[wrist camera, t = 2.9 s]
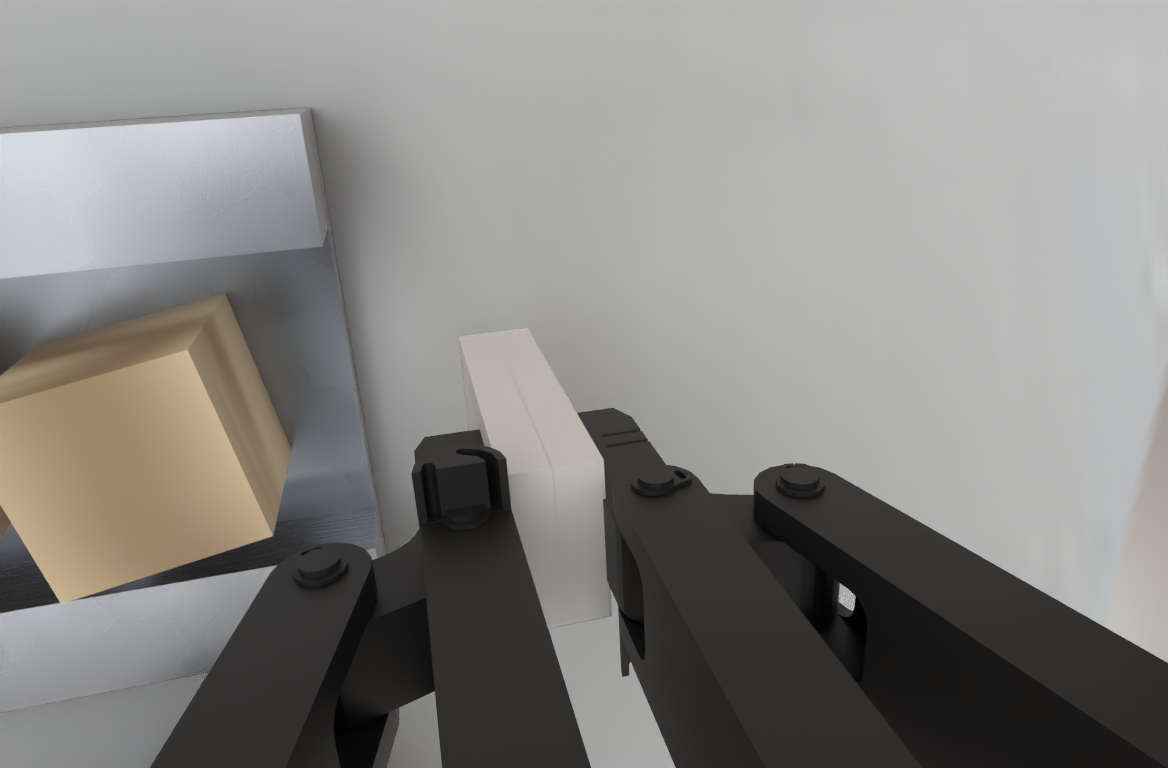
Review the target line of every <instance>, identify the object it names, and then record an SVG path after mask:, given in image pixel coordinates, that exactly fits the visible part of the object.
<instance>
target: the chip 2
mask: <svg viewBox="0 0 1168 768" xmlns="http://www.w3.org/2000/svg"><path fill="white" fill-rule="evenodd" d="M291 450H292V449H291V447H290V444H289V442H288V440H287V437H286V435H285V433H284V430H283V428H282V426H281V423H280V421H279V419H278V416H277V414H276V412H275V409H274V407H273V405H272V402H271V400H270V398H269V395H268V393H267V390H266V388H265V386H264V383H263V381H262V379H261V376H260V374H259V372H258V369H257V367H256V365H255V362H254V360H253V358H252V355H251V353H250V351H249V348H248V346H247V344H246V341H245V339H244V337H243V334H242V332H241V330H240V327H239V325H238V322H237V320H236V318H235V315H234V313H233V311H232V308H231V306H230V304H229V301H228V299H227V297H226V294H225V293H224V294H220V295H217V296H213V297H210V298H206V299H203V300H199V301H195V302H192V303H188V304H185V305H181V306H177V307H174V308H170V309H167V310H163V311H160V312H156V313H152V314H149V315H145V316H142V317H138V318H135V319H131V320H127V321H124V322H120V323H117V324H113V325H109V326H106V327H102V328H99V329H95V330H92V331H88V332H84V333H81V334H77V335H74V336H70V337H67V338H63V339H59V340H56V341H52V342H49V343H45V344H41V345H38V346H36V347H34V348H33V349H32V350H31V351H30V352H28V353H27V354H26V355H25V356H24V357H22V358H21V359H20V360H19V361H17V362H16V363H15V364H14V365H13V366H11V367H10V368H9V369H8V370H6V371H5V372H4V373H3V374H2V375H0V505H1V507H2V508H3V510H4V512H5V513H6V515H7V517H8V518H9V520H10V521H11V523H12V525H13V526H14V528H15V530H16V531H17V533H18V535H19V536H20V538H21V539H22V541H23V543H24V544H25V546H26V548H27V549H28V551H29V552H30V554H31V556H32V557H33V559H34V561H35V562H36V564H37V566H38V567H39V569H40V570H41V572H42V574H43V575H44V577H45V579H46V580H47V582H48V583H49V585H50V587H51V588H52V590H53V592H54V593H55V595H56V597H57V598H58V600H59V601H60V603H61V604H63V603H66V602H69V601H73V600H76V599H79V598H82V597H85V596H88V595H91V594H94V593H97V592H101V591H104V590H107V589H110V588H113V587H116V586H119V585H122V584H125V583H129V582H132V581H135V580H138V579H141V578H144V577H147V576H150V575H154V574H157V573H160V572H163V571H166V570H169V569H172V568H175V567H178V566H182V565H185V564H188V563H191V562H194V561H197V560H200V559H203V558H206V557H210V556H213V555H216V554H219V553H222V552H225V551H228V550H231V549H234V548H238V547H241V546H244V545H247V544H250V543H253V542H256V541H259V540H262V539H266V538H269V537H272V536H273V534H274V529H275V525H276V520H277V515H278V511H279V506H280V501H281V497H282V492H283V487H284V483H285V478H286V473H287V469H288V464H289V459H290V455H291Z"/></svg>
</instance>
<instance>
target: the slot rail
mask: <svg viewBox="0 0 1168 768" xmlns="http://www.w3.org/2000/svg"><path fill="white" fill-rule="evenodd" d="M224 293H225V294H226V297H227V299H228V301H229V304H230V306H231V308H232V311H233V313H234V315H235V318H236V320H237V322H238V325H239V327H240V330H241V332H242V334H243V337H244V339H245V341H246V344H247V346H248V348H249V351H250V353H251V355H252V358H253V360H254V362H255V365H256V367H257V369H258V372H259V374H260V376H261V379H262V381H263V383H264V386H265V388H266V390H267V393H268V395H269V398H270V400H271V402H272V405H273V407H274V409H275V412H276V414H277V416H278V419H279V421H280V423H281V426H282V428H283V430H284V433H285V435H286V437H287V440H288V442H289V444H290V447H291V449H292V450H291V455H290V459H289V464H288V469H287V473H286V478H285V483H284V487H283V492H282V497H281V501H280V506H279V511H278V515H277V520H276V525H275V529H274V534H273V536H272V537H269V538H266V539H262V540H259V541H256V542H253V543H250V544H247V545H244V546H241V547H238V548H234V549H231V550H228V551H225V552H222V553H219V554H216V555H213V556H210V557H206V558H203V559H200V560H197V561H194V562H191V563H188V564H185V565H182V566H178V567H175V568H172V569H169V570H166V571H163V572H160V573H157V574H154V575H150V576H147V577H144V578H141V579H138V580H135V581H132V582H129V583H125V584H122V585H119V586H116V587H113V588H110V589H107V590H104V591H101V592H97V593H94V594H91V595H88V596H85V597H82V598H79V599H76V600H73V601H69V602H66V603H63V604H61V603H60V601H59V600H58V598H57V597H56V595H55V593H54V592H53V590H52V588H51V587H50V585H49V583H48V582H47V580H46V579H45V577H44V575H43V574H42V572H41V570H40V569H39V567H38V566H37V564H36V562H35V561H34V559H33V557H32V556H31V554H30V552H29V551H28V549H27V548H26V546H25V544H24V543H23V541H22V539H21V538H20V536H19V535H18V533H17V531H16V530H15V528H14V526H13V525H12V523H11V525H10V526H9V527H8V528H7V530H6V531H5V532H4V533H3V535H2V536H1V537H0V713H2V712H8V711H13V710H18V709H23V708H28V707H33V706H38V705H43V704H49V703H54V702H59V701H64V700H69V699H74V698H79V697H84V696H90V695H95V694H100V693H105V692H110V691H115V690H120V689H125V688H131V687H136V686H141V685H146V684H151V683H156V682H161V681H167V680H172V679H177V678H182V677H187V676H192V675H197V674H202V673H208V672H210V670H211V668H212V667H213V665H214V663H215V662H216V660H217V659H218V657H219V655H220V654H221V652H222V650H223V649H224V647H225V646H226V644H227V642H228V641H229V639H230V637H231V636H232V634H233V633H234V631H235V629H236V628H237V626H238V625H239V623H240V621H241V620H242V618H243V616H244V615H245V613H246V612H247V610H248V608H249V607H250V605H251V603H252V602H253V600H254V599H255V597H256V595H257V594H258V592H259V591H260V589H261V587H262V586H263V584H264V582H265V581H266V579H267V578H268V576H269V574H270V573H271V572H272V571H273V569H274V568H275V567H276V566H277V565H278V564H279V563H280V562H281V561H282V560H284V559H286V558H287V557H289V556H291V555H293V554H294V553H296V552H298V551H300V550H302V549H305V548H307V547H308V548H309V547H310V546H314V545H318V544H328V543H335V542H336V543H350V544H354V545H357V546H359V547H362V548H364V549H366V551H367V552H368V553H369V555H370V556H371V557H372V560H374V559H377V558H379V557H382V556H385V555H386V549H385V543H384V537H383V531H382V525H381V520H380V514H379V508H378V502H377V496H376V490H375V484H374V478H373V472H372V467H371V461H370V455H369V449H368V443H367V437H366V431H365V425H364V419H363V413H362V408H361V402H360V396H359V390H358V384H357V378H356V372H355V366H354V360H353V355H352V349H351V343H350V337H349V331H348V325H347V319H346V313H345V307H344V302H343V296H342V290H341V284H340V278H339V272H338V266H337V260H336V254H335V249H334V243H333V237H332V231H331V225H330V219H329V213H328V207H327V201H326V195H325V190H324V184H323V178H322V172H321V166H320V160H319V154H318V148H317V142H316V137H315V131H314V125H313V119H312V113H311V107H307V108H292V109H277V110H261V111H246V112H231V113H216V114H201V115H186V116H171V117H156V118H140V119H125V120H110V121H95V122H80V123H65V124H50V125H35V126H20V127H4V128H0V375H2V374H3V373H4V372H5V371H6V370H8V369H9V368H10V367H11V366H13V365H14V364H15V363H16V362H17V361H19V360H20V359H21V358H22V357H24V356H25V355H26V354H27V353H28V352H30V351H31V350H32V349H33V348H34V347H36V346H38V345H41V344H45V343H49V342H52V341H56V340H59V339H63V338H67V337H70V336H74V335H77V334H81V333H84V332H88V331H92V330H95V329H99V328H102V327H106V326H109V325H113V324H117V323H120V322H124V321H127V320H131V319H135V318H138V317H142V316H145V315H149V314H152V313H156V312H160V311H163V310H167V309H170V308H174V307H177V306H181V305H185V304H188V303H192V302H195V301H199V300H203V299H206V298H210V297H213V296H217V295H220V294H224Z"/></svg>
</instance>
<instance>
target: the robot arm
mask: <svg viewBox="0 0 1168 768" xmlns="http://www.w3.org/2000/svg"><path fill="white" fill-rule="evenodd" d="M458 337H459V346H460V354H461V363H462V372H463V380H464V389H465V397H466V406H467V414H468V423H469V431H464V432H457V433H450V434H444V435H437V436H430V437H425V438H424V439H423V440H422V442H421V443H420V444H419V446H418V447H417V448H416V450H415V451H414V453H415V464H414V467H413V470H412V480H413V486H414V493H415V500H416V506H417V513H418V520H419V527H420V528H419V530H418V532H417V534H416V535H415V536H414V537H413V538H412V539H411V540H410V541H409V542H408V543H407V544H405V545H404V546H402V547H401V548H399V549H398V550H396V551H394V552H391V553H389V554H387V555H385V556H382V557H379V558H377V559H374V560H372V557H371V556H370V555H369V553H368V552H367V551H366V549H364V548H362V547H359V546H357V545H354V544H350V543H336V542H335V543H328V544H318V545H314V546H310V547H309V548H308V547H307V548H305V549H302V550H300V551H298V552H296V553H294V554H293V555H291V556H289V557H287V558H286V559H284V560H282V561H281V562H280V563H279V564H278V565H277V566H276V567H275V568H274V569H273V571H272V572H271V573H270V574H269V576H268V578H267V579H266V581H265V582H264V584H263V586H262V587H261V589H260V591H259V592H258V594H257V595H256V597H255V599H254V600H253V602H252V603H251V605H250V607H249V608H248V610H247V612H246V613H245V615H244V616H243V618H242V620H241V621H240V623H239V625H238V626H237V628H236V629H235V631H234V633H233V634H232V636H231V637H230V639H229V641H228V642H227V644H226V646H225V647H224V649H223V650H222V652H221V654H220V655H219V657H218V659H217V660H216V662H215V663H214V665H213V667H212V668H211V670H210V672H209V673H208V675H207V676H206V678H205V680H204V681H203V683H202V684H201V686H200V688H199V689H198V691H197V693H196V694H195V696H194V697H193V699H192V701H191V702H190V704H189V706H188V707H187V709H186V710H185V712H184V714H183V715H182V717H181V719H180V720H179V722H178V723H177V725H176V727H175V728H174V730H173V731H172V733H171V735H170V736H169V738H168V740H167V741H166V743H165V744H164V746H163V748H162V749H161V751H160V753H159V754H158V756H157V757H156V759H155V761H154V762H153V764H152V765H151V767H150V768H386V767H387V764H388V760H389V757H390V753H391V750H392V746H393V743H394V739H395V736H396V732H397V729H398V725H399V707H401V706H403V705H406V704H408V703H410V702H412V701H414V700H416V699H418V698H421V697H423V696H425V695H427V694H429V693H431V692H433V691H435V696H436V706H437V717H438V728H439V738H440V749H441V759H442V768H591V766H590V763H589V760H588V757H587V753H586V750H585V747H584V744H583V740H582V737H581V734H580V731H579V727H578V724H577V721H576V718H575V714H574V711H573V708H572V705H571V701H570V698H569V695H568V692H567V688H566V685H565V682H564V679H563V675H562V672H561V669H560V666H559V662H558V659H557V656H556V653H555V649H554V646H553V643H552V640H551V636H550V633H549V630H548V628H553V627H558V626H563V625H569V624H574V623H579V622H584V621H589V620H594V619H599V618H604V617H609V616H612V614H611V594H610V588H611V590H612V592H613V595H614V597H615V599H616V601H617V604H618V611H619V633H620V655H621V670H622V677H623V676H628V675H629V663H630V662H631V663H632V665H633V667H634V670H635V672H636V674H637V677H638V679H639V682H640V684H641V686H642V689H643V691H644V693H645V696H646V698H647V700H648V703H649V705H650V708H651V710H652V712H653V715H654V717H655V719H656V722H657V724H658V727H659V729H660V731H661V734H662V736H663V738H664V741H665V743H666V746H667V748H668V750H669V753H670V755H671V757H672V760H673V762H674V765H675V767H676V768H1168V663H1167V662H1165V661H1163V660H1161V659H1160V658H1158V657H1156V656H1154V655H1153V654H1151V653H1149V652H1147V651H1146V650H1144V649H1142V648H1140V647H1139V646H1137V645H1135V644H1133V643H1132V642H1130V641H1128V640H1126V639H1125V638H1123V637H1121V636H1119V635H1117V634H1116V633H1114V632H1112V631H1110V630H1109V629H1107V628H1105V627H1103V626H1102V625H1100V624H1098V623H1096V622H1095V621H1093V620H1091V619H1089V618H1088V617H1086V616H1084V615H1082V614H1080V613H1079V612H1077V611H1075V610H1073V609H1072V608H1070V607H1068V606H1066V605H1065V604H1063V603H1061V602H1059V601H1058V600H1056V599H1054V598H1052V597H1051V596H1049V595H1047V594H1045V593H1044V592H1042V591H1040V590H1038V589H1036V588H1035V587H1033V586H1031V585H1029V584H1028V583H1026V582H1024V581H1022V580H1021V579H1019V578H1017V577H1015V576H1014V575H1012V574H1010V573H1008V572H1007V571H1005V570H1003V569H1001V568H999V567H998V566H996V565H994V564H992V563H991V562H989V561H987V560H985V559H984V558H982V557H980V556H978V555H977V554H975V553H973V552H971V551H970V550H968V549H966V548H964V547H963V546H961V545H959V544H957V543H955V542H954V541H952V540H950V539H948V538H947V537H945V536H943V535H941V534H940V533H938V532H936V531H934V530H933V529H931V528H929V527H927V526H926V525H924V524H922V523H920V522H918V521H917V520H915V519H913V518H911V517H910V516H908V515H906V514H904V513H903V512H901V511H899V510H897V509H896V508H894V507H892V506H890V505H889V504H887V503H885V502H883V501H882V500H880V499H878V498H876V497H874V496H873V495H871V494H869V493H867V492H866V491H864V490H862V489H860V488H859V487H857V486H855V485H853V484H852V483H850V482H848V481H846V480H845V479H843V478H841V477H839V476H837V475H836V474H834V473H831V472H829V471H827V470H824V469H822V468H818V467H813V466H808V465H806V464H797V463H795V465H794V464H793V463H792V464H784V465H781V466H775V467H770V468H768V469H766V470H764V471H762V472H760V473H759V474H758V476H757V477H756V478H755V480H754V495H724V494H712V493H709V492H708V490H707V489H706V488H705V487H704V485H703V484H702V483H701V481H700V480H699V479H698V478H697V477H696V476H695V475H694V474H692V473H691V472H690V471H688V470H685V469H682V468H679V467H676V466H670V465H666V464H665V463H664V461H663V460H662V458H661V457H660V456H659V454H658V453H657V452H656V450H655V449H654V447H653V446H652V445H651V443H650V442H649V441H647V438H646V436H645V435H644V434H643V432H642V431H640V428H639V427H638V425H637V424H636V423H635V421H634V420H633V418H632V417H630V416H628V415H626V414H624V413H622V412H620V411H618V410H616V409H614V408H608V409H602V410H595V411H588V412H581V413H576V411H575V409H574V407H573V406H572V404H571V402H570V400H569V399H568V397H567V395H566V393H565V392H564V390H563V388H562V386H561V385H560V383H559V381H558V380H557V378H556V376H555V374H554V373H553V371H552V369H551V367H550V366H549V364H548V362H547V360H546V359H545V357H544V355H543V353H542V352H541V350H540V348H539V347H538V345H537V343H536V341H535V340H534V338H533V336H532V334H531V333H530V331H529V329H528V328H521V329H513V330H505V331H496V332H488V333H480V334H472V335H464V336H458ZM840 583H841V584H842V585H844V586H845V587H846V588H848V589H849V590H850V591H851V592H852V593H853V594H854V595H855V596H856V599H855V608H854V611H851V610H849V609H847V608H846V607H845V606H843V605H842V604H841V603H839V602H838V599H839V585H840Z"/></svg>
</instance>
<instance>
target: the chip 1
mask: <svg viewBox="0 0 1168 768" xmlns="http://www.w3.org/2000/svg"><path fill="white" fill-rule="evenodd" d="M10 525H11V521H10V520H9V518H8V517H7V515H6V513H5V512H4V510H3V508H2V507H1V505H0V537H1V536H2V535H3V533H4V532H5V531H6V530H7V528H8V527H9V526H10Z"/></svg>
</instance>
